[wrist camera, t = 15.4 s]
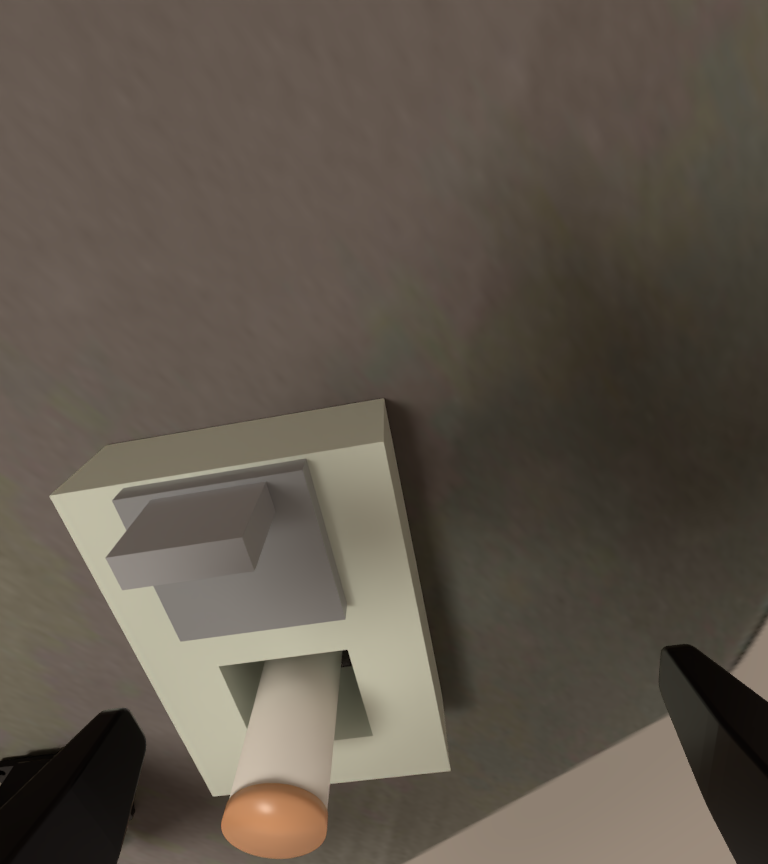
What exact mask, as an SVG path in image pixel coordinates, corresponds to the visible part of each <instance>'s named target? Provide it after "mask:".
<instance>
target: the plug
mask: <svg viewBox="0 0 768 864" xmlns="http://www.w3.org/2000/svg"><path fill="white" fill-rule="evenodd" d="M342 652H343V650H341V651H333V652H326V653H318V654H310V655H302V656H295V657H287V658H279V659H271V660H265V663H264V667H263V671H262V675H261V679H260V683H259V686H258V690H257V694H256V698H255V702H254V706H253V709H252V713H251V717H250V721H249V725H248V729H247V732H246V736H245V740H244V744H243V748H242V752H241V755H240V759H239V763H238V767H237V771H236V775H235V778H234V782H233V786H232V790H231V794H230V798H229V800H228V802H227V804H226V807H225V811H224V815H223V819H222V823H221V829H222V832H223V835H224V836H225V838H226V839H227V840H228V841H229V842H230V843H231V844H232V845H233V846H235V847H236V848H238V849H240V850H242V851H244V852H246V853H249V854H252V855H255V856H259V857H264V858H273V859H285V858H294V857H298V856H302V855H305V854H308V853H310V852H312V851H314V850H315V849H317V848H318V847H319V846H320V845H321V844H322V843H323V841H324V840H325V838H326V833H327V823H328V812H327V808H328V798H329V787H330V777H331V767H332V756H333V746H334V735H335V725H336V714H337V704H338V693H339V683H340V672H341V662H342Z"/></svg>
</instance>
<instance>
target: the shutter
mask: <svg viewBox="0 0 768 864" xmlns="http://www.w3.org/2000/svg"><path fill="white" fill-rule="evenodd" d="M112 502H113V504H114V506H115V508H116V510H117V512H118V514H119V516H120V519H121V521H122V523H123V525H124V527H125V529H126V532H125V533H124V535H123V536H122V537H121V538H120V540H119V541H118V542H117V544H116V545H115V546H114V547H113V549H112V550H111V551H110V553H109V554H108V555H107V556H106V560H107V562H108V564H109V566H110V568H111V570H112V572H113V574H114V576H115V577H116V579H117V581H118V583H119V585H120V587H121V589H122V590H128V589H135V588H142V587H149V586H153V587H154V589H155V591H156V593H157V595H158V597H159V599H160V601H161V603H162V605H163V607H164V609H165V611H166V613H167V615H168V617H169V619H170V622H171V624H172V626H173V628H174V630H175V632H176V634H177V636H178V638H179V640H180V642H182V641H190V640H197V639H204V638H212V637H219V636H227V635H234V634H242V633H249V632H256V631H264V630H271V629H279V628H286V627H294V626H301V625H309V624H316V623H323V622H331V621H338V620H346V610H347V602H346V598H345V595H344V591H343V588H342V584H341V581H340V577H339V573H338V570H337V566H336V563H335V559H334V556H333V552H332V548H331V545H330V541H329V538H328V534H327V531H326V527H325V524H324V520H323V516H322V513H321V509H320V506H319V502H318V499H317V495H316V491H315V488H314V484H313V481H312V477H311V474H310V470H309V467H308V463H307V459H300V460H294V461H287V462H281V463H275V464H269V465H263V466H256V467H250V468H244V469H238V470H232V471H226V472H219V473H213V474H207V475H201V476H195V477H188V478H182V479H176V480H170V481H164V482H157V483H151V484H145V485H139V486H133V487H127V488H123V489H122V490H121V491H120V492H119V493H118V494H117V495H116V496H115V498H114V499H113V500H112Z"/></svg>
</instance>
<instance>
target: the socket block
mask: <svg viewBox="0 0 768 864" xmlns="http://www.w3.org/2000/svg"><path fill="white" fill-rule="evenodd" d="M300 459H307V463H308V467H309V470H310V474H311V477H312V481H313V484H314V488H315V491H316V495H317V499H318V502H319V506H320V509H321V513H322V516H323V520H324V524H325V527H326V531H327V534H328V538H329V541H330V545H331V548H332V552H333V556H334V559H335V563H336V566H337V570H338V573H339V577H340V581H341V584H342V588H343V591H344V595H345V598H346V602H347V610H346V620H338V621H331V622H323V623H316V624H309V625H301V626H294V627H286V628H279V629H271V630H264V631H256V632H249V633H242V634H234V635H227V636H219V637H212V638H204V639H197V640H190V641H182V642H180V640H179V638H178V636H177V634H176V632H175V630H174V628H173V626H172V624H171V622H170V619H169V617H168V615H167V613H166V611H165V609H164V607H163V605H162V603H161V601H160V599H159V597H158V595H157V593H156V591H155V589H154V587H153V586H149V587H142V588H135V589H128V590H122V589H121V587H120V585H119V583H118V581H117V579H116V577H115V576H114V574H113V572H112V570H111V568H110V566H109V564H108V562H107V560H106V556H107V555H108V554H109V553H110V551H111V550H112V549H113V547H114V546H115V545H116V544H117V542H118V541H119V540H120V538H121V537H122V536H123V535H124V533H125V532H126V529H125V527H124V525H123V523H122V521H121V519H120V516H119V514H118V512H117V510H116V508H115V506H114V504H113V502H112V500H113V499H114V498H115V496H116V495H117V494H118V493H119V492H120V491H121V490H122V489H123V488H127V487H133V486H139V485H145V484H151V483H157V482H164V481H170V480H176V479H182V478H188V477H195V476H201V475H207V474H213V473H219V472H226V471H232V470H238V469H244V468H250V467H256V466H263V465H269V464H275V463H281V462H287V461H294V460H300ZM50 498H51V500H52V502H53V504H54V506H55V507H56V509H57V511H58V513H59V515H60V517H61V518H62V520H63V522H64V524H65V526H66V528H67V529H68V531H69V533H70V535H71V537H72V539H73V540H74V542H75V544H76V546H77V548H78V550H79V551H80V553H81V555H82V557H83V559H84V561H85V562H86V564H87V566H88V568H89V570H90V572H91V573H92V575H93V577H94V579H95V581H96V583H97V584H98V586H99V588H100V590H101V592H102V594H103V595H104V597H105V599H106V601H107V603H108V605H109V606H110V608H111V610H112V612H113V614H114V616H115V618H116V619H117V621H118V623H119V625H120V627H121V629H122V630H123V632H124V634H125V636H126V638H127V640H128V641H129V643H130V645H131V647H132V649H133V651H134V652H135V654H136V656H137V658H138V660H139V662H140V663H141V665H142V667H143V669H144V671H145V673H146V674H147V676H148V678H149V680H150V682H151V684H152V685H153V687H154V689H155V691H156V693H157V695H158V696H159V698H160V700H161V702H162V704H163V706H164V707H165V709H166V711H167V713H168V715H169V717H170V718H171V720H172V722H173V724H174V726H175V728H176V730H177V731H178V733H179V735H180V737H181V739H182V741H183V742H184V744H185V746H186V748H187V750H188V752H189V753H190V755H191V757H192V759H193V761H194V763H195V764H196V766H197V768H198V770H199V772H200V774H201V775H202V777H203V779H204V781H205V783H206V785H207V786H208V788H209V790H210V792H211V794H212V796H213V797H214V796H223V795H230V794H231V790H232V786H233V782H234V778H235V775H236V771H237V767H238V763H239V759H240V755H241V752H242V748H243V744H244V740H245V736H246V732H247V729H248V725H249V721H250V717H251V713H252V709H253V706H254V702H255V698H256V694H257V690H258V686H259V683H260V679H261V675H262V671H263V667H264V663H265V660H271V659H279V658H287V657H295V656H302V655H310V654H318V653H326V652H333V651H341V650H348V652H349V656H350V659H351V663H352V666H348V667H341V672H340V683H339V693H338V704H337V714H336V725H335V735H334V746H333V756H332V767H331V777H330V784H334V783H343V782H352V781H362V780H371V779H380V778H389V777H399V776H408V775H417V774H426V773H436V772H445V771H451V769H450V760H449V751H448V742H447V734H446V725H445V716H444V707H443V698H442V692H441V687H440V682H439V677H438V672H437V667H436V661H435V656H434V651H433V646H432V641H431V636H430V631H429V626H428V621H427V615H426V610H425V605H424V600H423V595H422V590H421V585H420V580H419V574H418V569H417V564H416V559H415V554H414V549H413V544H412V539H411V534H410V528H409V523H408V518H407V513H406V508H405V503H404V498H403V493H402V487H401V482H400V477H399V472H398V467H397V462H396V457H395V452H394V447H393V441H392V436H391V431H390V426H389V421H388V416H387V411H386V406H385V400H384V398H382V399H376V400H370V401H364V402H358V403H352V404H347V405H341V406H335V407H329V408H323V409H317V410H311V411H305V412H299V413H293V414H287V415H282V416H276V417H270V418H264V419H258V420H252V421H246V422H240V423H234V424H228V425H222V426H217V427H211V428H205V429H199V430H193V431H187V432H181V433H175V434H169V435H163V436H158V437H152V438H146V439H140V440H134V441H128V442H122V443H116V444H110V445H106V446H105V447H104V448H103V449H102V450H100V451H99V452H98V453H97V454H96V455H95V456H94V457H92V458H91V459H90V460H89V461H88V462H87V463H86V464H85V465H83V466H82V467H81V468H80V469H79V470H78V471H77V472H76V473H74V474H73V475H72V476H71V477H70V478H69V479H68V480H66V481H65V482H64V483H63V484H62V485H61V486H60V487H59V488H57V489H56V490H55V491H54V492H53V493H52V494H51V495H50Z"/></svg>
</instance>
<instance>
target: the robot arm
mask: <svg viewBox="0 0 768 864" xmlns="http://www.w3.org/2000/svg"><path fill="white" fill-rule="evenodd" d="M659 688H660V692H661V695H662V698H663V700H664V703H665V705H666V708H667V710H668V713H669V715H670V718H671V720H672V722H673V725H674V727H675V729H676V732H677V735H678V737H679V739H680V742H681V744H682V747H683V749H684V752H685V754H686V757H687V759H688V762H689V764H690V766H691V768H692V771H693V774H694V776H695V779H696V781H697V784H698V786H699V788H700V791H701V793H702V795H703V798H704V800H705V802H706V805H707V807H708V809H709V811H710V813H711V815H712V817H713V819H714V821H715V822H716V824H717V827H718V829H719V830H720V832H721V834H722V836H723V838H724V840H725V842H726V844H727V846H728V848H729V850H730V852H731V853H732V855H733V857H734V859H735V861H736V863H737V864H768V702H767V701H766V700H765V699H763V698H762V697H761V696H759V695H758V694H756V693H755V692H754V691H753V690H751V689H750V688H749V687H747V686H746V685H745V684H743V683H742V682H741V681H739V680H738V679H737V678H735V677H734V676H733V675H731V674H730V673H729V672H727V671H726V670H725V669H723V668H722V667H721V666H719V665H718V664H717V663H715V662H714V661H713V660H711V659H710V658H709V657H707V656H706V655H705V654H703V653H702V652H701V651H699V650H698V649H697V648H695V647H693V646H691V645H689V644H680V645H672V646H665V647H664V648H663V649H662V651H661V657H660V670H659ZM145 751H146V738H145V735H144V733H143V731H142V730H141V728H140V726H139V725H138V723H137V721H136V720H135V718H134V716H133V715H132V713H131V712H130V710H129V709H127V708H116V709H108V710H104V711H102V712H100V713H99V714H98V715H97V716H96V717H95V718H94V719H93V720H91V721H90V722H89V723H88V724H87V725H86V726H85V727H84V728H83V729H82V730H81V731H80V732H79V733H78V734H77V735H76V736H75V737H74V738H73V739H72V740H71V741H70V742H69V743H68V744H67V745H66V746H65V747H63V748H62V749H61V750H60V751H59V752H58V753H57V754H56V755H47V756H39V757H30V758H22V759H13V760H5V761H0V782H1V783H2V784H1V786H0V864H117V861H118V858H119V855H120V852H121V848H122V844H123V841H124V837H125V833H126V829H127V825H128V821H129V820H131V819H132V818H133V815H134V813H135V808H134V807H133V801H134V797H135V793H136V788H137V784H138V780H139V776H140V772H141V768H142V764H143V760H144V756H145Z"/></svg>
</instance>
